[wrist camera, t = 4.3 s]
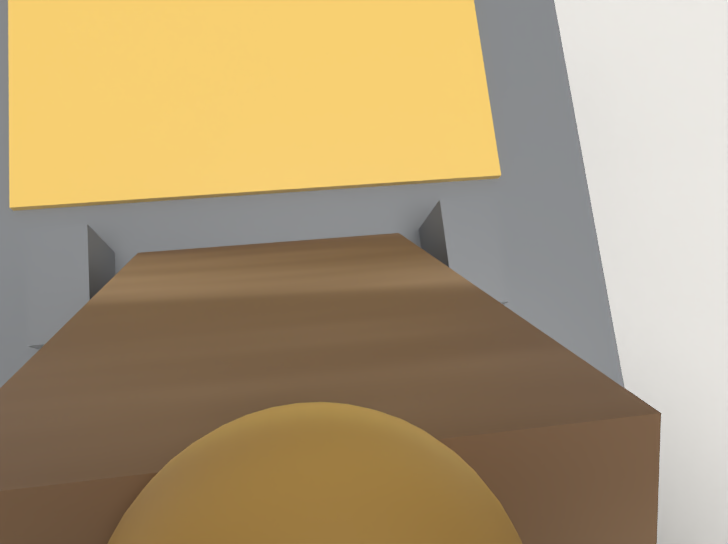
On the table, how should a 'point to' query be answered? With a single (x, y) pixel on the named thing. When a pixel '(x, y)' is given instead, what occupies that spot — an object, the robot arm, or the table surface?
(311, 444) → the lever
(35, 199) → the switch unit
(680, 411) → the table surface
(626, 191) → the table surface
